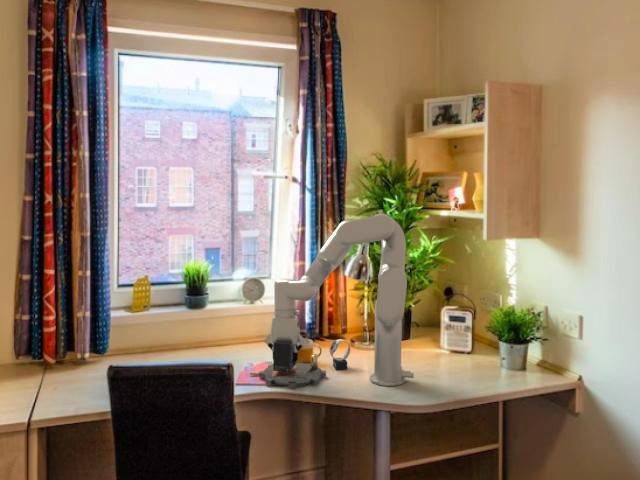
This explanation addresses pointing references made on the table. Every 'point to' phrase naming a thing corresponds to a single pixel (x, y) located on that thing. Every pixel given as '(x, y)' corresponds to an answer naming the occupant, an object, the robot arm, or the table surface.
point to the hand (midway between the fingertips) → (285, 361)
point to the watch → (339, 362)
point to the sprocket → (294, 374)
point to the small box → (283, 356)
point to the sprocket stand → (254, 373)
